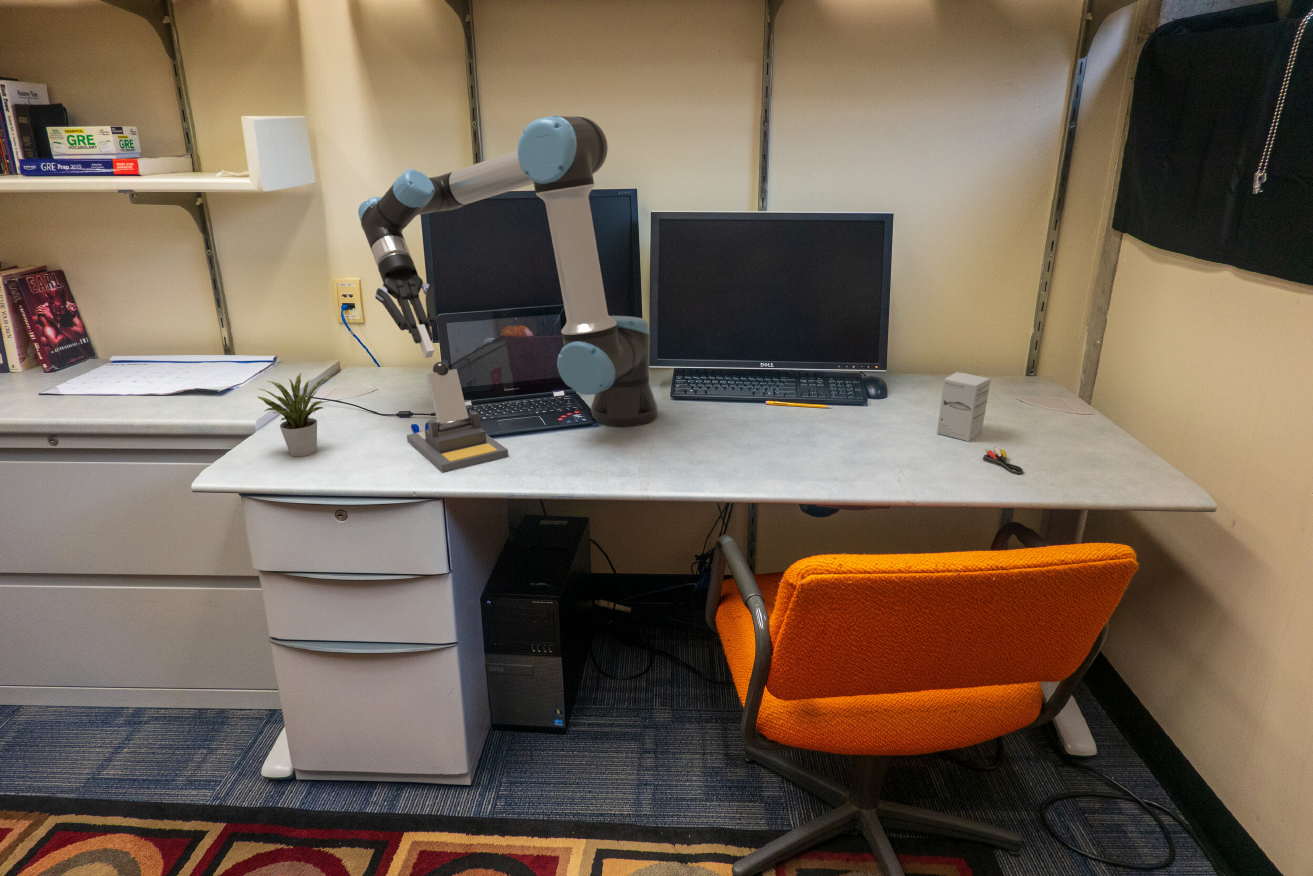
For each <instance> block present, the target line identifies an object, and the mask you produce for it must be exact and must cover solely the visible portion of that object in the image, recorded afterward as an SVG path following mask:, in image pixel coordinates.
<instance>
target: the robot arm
mask: <svg viewBox="0 0 1313 876" xmlns="http://www.w3.org/2000/svg"><path fill="white" fill-rule="evenodd" d="M608 149H609V147H608V140H607V137H606V134H605V132H604V131H603V128H601V126H600V125H599V124H597V123H596V122H595V121H594V120H592V119H590V118H588V117H585V116H584V117H583V116H564V115H562V116H560V115H548V116H547V117H546V116H545V117H540V118H537V119H535V120H533V121H532V122H529V124H528V125H527V126H526V127H525V128H524V130H523V131H522V133H521V134H520V137H519V140H518V145H517V150H514V151H511V152H507V153H504V154H502V155H498V156H496V157H493V158H489V159H487V160H484V161H481V162H478V163H475V164H472V165H468V166H466V167H465V166H464V167H463V168H459V169H457V170H454V171H451V172H447V173H445V174H442V175H438V176H432V177H428V176H427V175H426V174H425V173H423V172H422V171H417V170H416V169H411V168H410V169H406V170H405V171H404V172H403V173H402V174H400V176H398V177H397V178H396V179H395V180H394V182H393V183H392V185H391V186H390V187H389V189H388V190H387V191H386V192H385V194H384V195H382V196H381V197H379V196H374V197H370V198H368V200H367V201H366V200H364V201H363V202H362V203H360V205H359V207H358V214H357V215H358V217H359V221H360V226H361V228H362V231H363V232H364V235H365V237H366V238H365V239H367V243H368V245H369V247H370V250H371V252H372V253H371V254H372V255H373V258H374V261H375V264H376V266H377V269H378V270H377V271H378V272H379V275H380V278H381V280H382V283H383V285H382V287H381V288H377V289H376V291H375V297H374V298H375V299H376V300H377V301H378V302H379V303H381V304H382V305H383V307H384V308H385V310H386V311H387V313H388V314H389V315H390V317H391V318H392V320H393V321H394V323H395V324H396V325H397V327H398V328H399V330H400V331H405V330H406V331H408V334H410V335H411V337H412V340H413V342H414V343H415V344H419V346H420V349H421V352H422V353H423V357H424V358H425V359H428V358H433V356H434V355H433V354H434V352H435V348H434V346H433V343H432V341H433V338H434V335H433V332H432V330H431V328H432V327H434V325H435V322H436V319H437V317H436V310H435V309H436V307H435V301H434V300H435V299H434V298H435V297H434V290H435V288H436V284H435V283H433V282H430V283H426V282H424V280H423V279H422V278H421V276H419V273H418V270H417V268H416V266H415V262H414V261H413V258H412V255H411V252H410V250H409V248H408V245H407V243H406V240H405V237H404V233H403V230H405V229H406V228H407V226H408V225H410V223H411V222H412V221H413V220H414V219H415V217H416V218H417V216H420V215H427V214H431V213H432V214H433V213H438V212H445V211H453V210H457V209H460V208H462V207H464V206H465V205H468V204H471V203H475V202H478V201H481V200H485V199H488V198H491V197H495V196H498V195H501V194H504V193H508V192H511V191H514V190H518V189H521V188H524V187H527V186H531V185H533V187H534V192H535V195H536V196H537V197H538V198H540V199H541V200H543V202H544V204H545V209H546V214H547V220H548V225H549V231H550V235H551V242H552V246H553V252H554V258H555V263H556V269H557V273H558V279H559V286H560V290H561V297H562V302H563V307H564V312H565V318H566V322H565V325H564V326H563V327H562V328H561V332H560V333H561V337H562V342H563V347H562V348H561V349H560V352H559V354H558V356H557V359H556V360H557V363H556V365H557V370H558V374H559V375H560V378H561V380H562V381H563V383H565V385H566V386H567V387H570V388H571V389H572V390H573V391H574V392H576V393H579V394H582V395H588V396H590V395H594V397H593V400H592V403H591V408H590V409H591V411H590V413H592V416H593V418H594V419H595V420H596V421H595V422H596V423H598V424H601V425H605V426H610V427H620V428H621V427H635V426H641V425H645V424H648V423H650V422H652V421H654V420H655V419H657V417H658V404H657V402H656V399H655V397H654V393H653V391H652V388H651V384H650V336H651V335H650V332H649V331H650V330H649V323H648V321H647V320H646V319H644V318H642V317H636V316H627V315H609V313H608V306H607V301H606V294H605V289H604V284H603V283H604V281H603V277H602V271H601V265H600V260H599V259H600V258H599V253H598V248H597V247H598V246H597V241H596V233H595V229H594V222H593V215H592V210H591V204H590V197H589V196H590V193H591V192H592V190H593V188H594V187H595V182H594V174H595V173H597V172H598V171H599V170H600V169H601V168H602V167H603V165H604V164H605V162H606V160H607V159H606V158H607V155H608ZM421 290H422V291H423V292H422V293H423V294H424V296H425V307H426V312H425V309H424V307H423V306H424V305H423V304H422V301H421V299H420V292H421ZM392 298H394V299H395V300H396V301H397V303H398V304H397V305H398V306H399V307H400V309H399V308H398V306H397V305H396V303H395V301H394V300H393V299H392ZM411 306H412V307H411ZM412 308H413V310H412ZM413 311H414V312H413ZM414 314H415V316H416V318H415V316H414ZM416 319H417V320H416ZM417 321H418V324H417ZM430 327H431V328H430Z"/></svg>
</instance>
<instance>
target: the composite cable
mask: <svg viewBox="0 0 1313 876" xmlns="http://www.w3.org/2000/svg"><path fill="white" fill-rule="evenodd" d="M985 451H986V454H984V455H983V457H982V460H983V461H985V462H988V463H991V464H993V465H997V466H999V467H1001V468H1003V469H1004V470H1005V471H1007V472H1009V473H1011V474H1014V475H1019V476H1020V475H1023V474H1024V470H1023V468H1022V467H1020V465H1019V466H1018V465H1015V464H1011V463H1007V452H1006V450H1005V449H1002V448H999V447H996V446H993V450H990V449H987V448H985Z"/></svg>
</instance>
